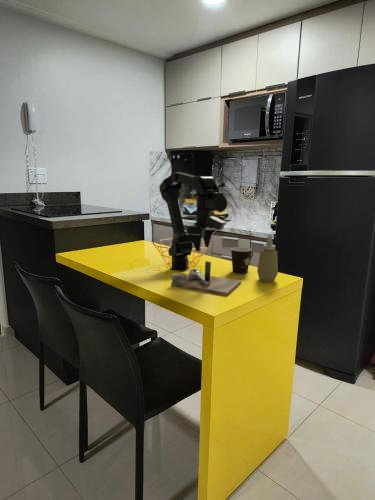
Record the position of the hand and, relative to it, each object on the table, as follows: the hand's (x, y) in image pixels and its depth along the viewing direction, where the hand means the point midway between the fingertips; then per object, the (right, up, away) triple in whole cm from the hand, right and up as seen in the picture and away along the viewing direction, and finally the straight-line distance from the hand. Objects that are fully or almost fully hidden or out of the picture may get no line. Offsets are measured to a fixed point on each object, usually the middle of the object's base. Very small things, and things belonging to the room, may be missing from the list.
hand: (202, 249), depth 133 cm
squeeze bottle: (+26, -13, +2) cm, 29 cm away
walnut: (-8, -12, -5) cm, 15 cm away
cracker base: (+1, -14, -6) cm, 15 cm away
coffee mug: (+18, -10, +14) cm, 25 cm away
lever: (-2, -12, -4) cm, 12 cm away
